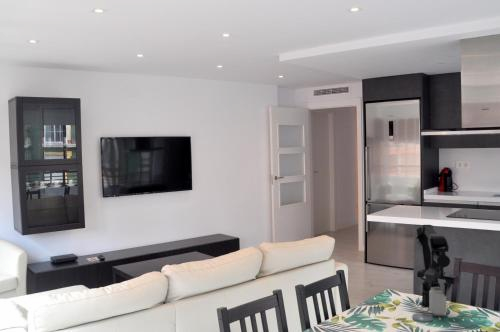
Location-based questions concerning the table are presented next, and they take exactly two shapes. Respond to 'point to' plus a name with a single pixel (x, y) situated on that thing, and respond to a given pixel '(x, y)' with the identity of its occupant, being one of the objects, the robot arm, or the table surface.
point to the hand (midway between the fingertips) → (437, 294)
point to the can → (437, 301)
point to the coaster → (422, 317)
